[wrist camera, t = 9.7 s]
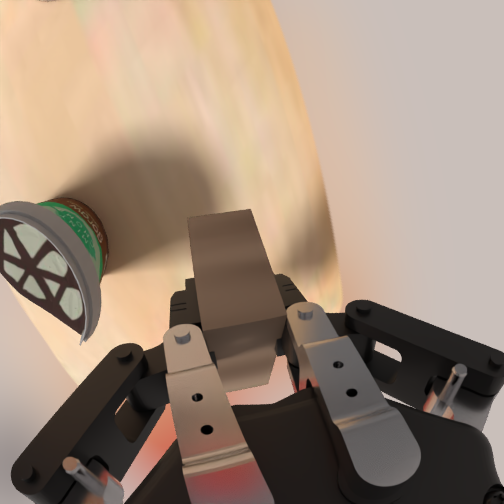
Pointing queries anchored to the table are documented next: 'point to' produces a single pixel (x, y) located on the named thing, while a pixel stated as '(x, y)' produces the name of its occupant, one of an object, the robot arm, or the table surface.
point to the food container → (55, 258)
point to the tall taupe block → (236, 297)
